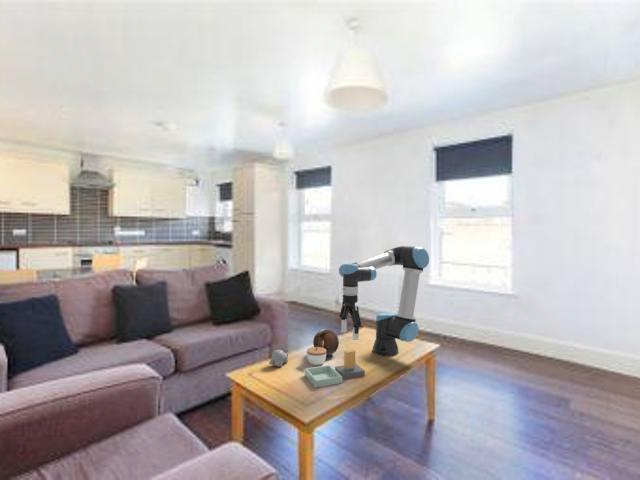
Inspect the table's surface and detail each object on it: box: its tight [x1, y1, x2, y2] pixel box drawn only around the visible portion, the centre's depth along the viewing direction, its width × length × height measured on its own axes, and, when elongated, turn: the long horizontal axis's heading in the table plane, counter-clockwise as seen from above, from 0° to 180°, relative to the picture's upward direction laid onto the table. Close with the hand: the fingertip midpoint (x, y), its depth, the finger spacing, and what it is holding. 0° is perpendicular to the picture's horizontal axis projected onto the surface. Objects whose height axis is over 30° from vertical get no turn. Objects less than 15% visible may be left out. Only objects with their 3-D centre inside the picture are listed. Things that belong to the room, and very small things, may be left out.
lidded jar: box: [306, 346, 327, 366], centre depth 198 cm, size 11×11×9 cm
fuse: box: [343, 349, 356, 370], centre depth 184 cm, size 5×3×12 cm, turn 111°
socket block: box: [334, 363, 366, 380], centre depth 185 cm, size 12×10×3 cm
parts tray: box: [304, 364, 343, 389], centre depth 178 cm, size 14×16×4 cm
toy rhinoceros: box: [268, 349, 289, 368], centre depth 197 cm, size 7×12×8 cm, turn 140°
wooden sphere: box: [312, 328, 340, 357], centre depth 212 cm, size 15×15×15 cm
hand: (349, 335), depth 184 cm, fingers open, 13 cm apart
